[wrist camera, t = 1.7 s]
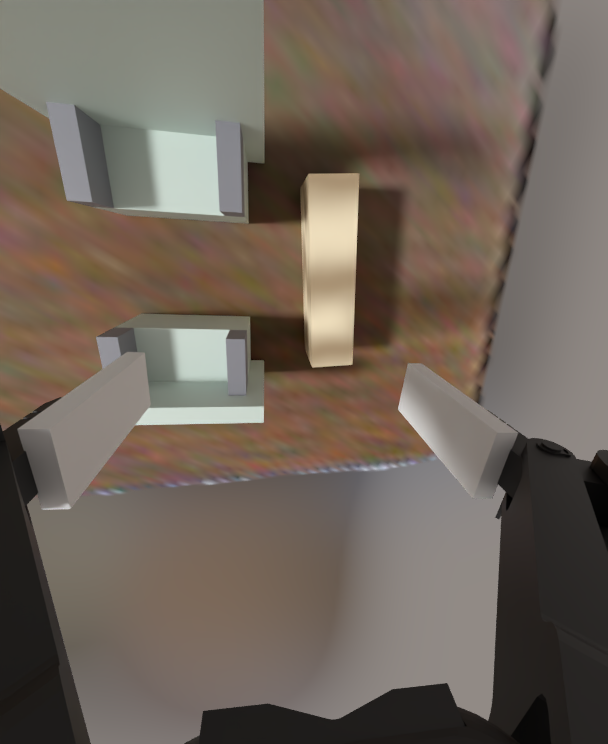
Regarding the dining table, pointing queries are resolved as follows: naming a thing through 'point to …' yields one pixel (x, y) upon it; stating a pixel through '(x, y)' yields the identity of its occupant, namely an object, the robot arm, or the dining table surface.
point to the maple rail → (329, 266)
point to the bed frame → (155, 157)
